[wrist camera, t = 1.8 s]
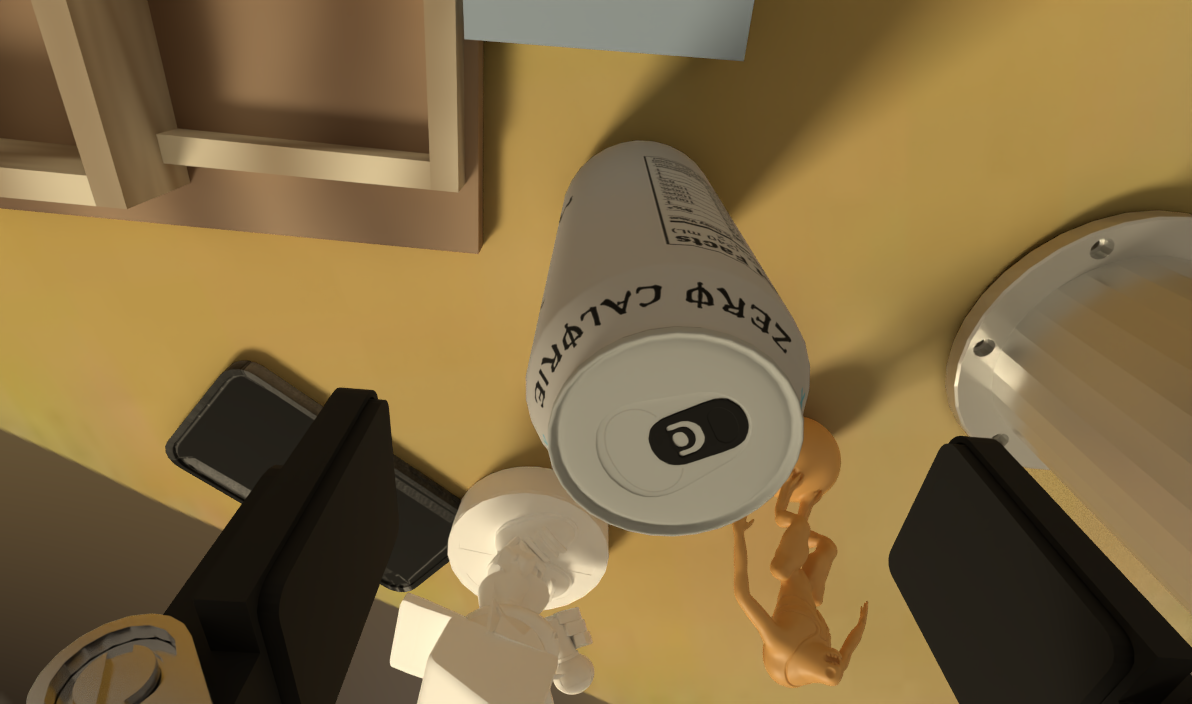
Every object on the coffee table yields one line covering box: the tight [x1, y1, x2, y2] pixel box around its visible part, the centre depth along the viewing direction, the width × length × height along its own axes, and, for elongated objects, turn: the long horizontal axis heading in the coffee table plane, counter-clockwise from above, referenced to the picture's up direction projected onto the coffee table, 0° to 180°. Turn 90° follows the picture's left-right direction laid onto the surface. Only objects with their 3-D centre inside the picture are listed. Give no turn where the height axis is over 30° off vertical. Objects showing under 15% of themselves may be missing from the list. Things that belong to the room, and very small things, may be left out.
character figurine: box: [390, 466, 609, 704], centre depth 28 cm, size 9×10×12 cm
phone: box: [165, 361, 461, 592], centre depth 32 cm, size 8×1×15 cm
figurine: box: [732, 417, 868, 688], centre depth 25 cm, size 8×6×12 cm
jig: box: [0, 0, 483, 254], centre depth 20 cm, size 20×13×4 cm, turn 85°
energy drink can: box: [526, 140, 810, 536], centre depth 18 cm, size 6×6×15 cm
